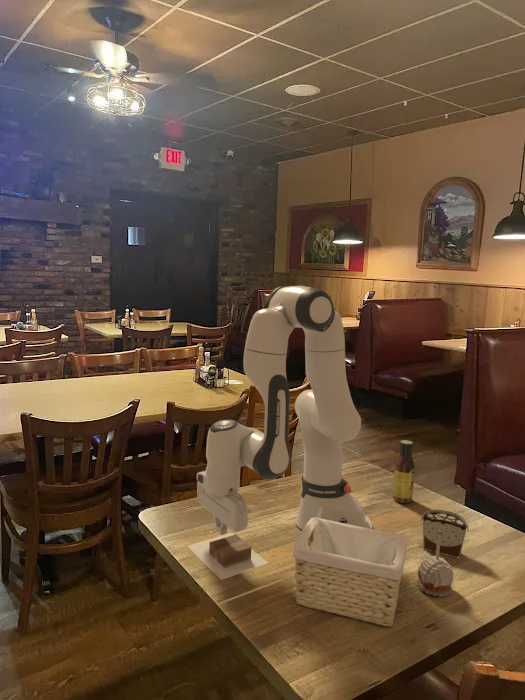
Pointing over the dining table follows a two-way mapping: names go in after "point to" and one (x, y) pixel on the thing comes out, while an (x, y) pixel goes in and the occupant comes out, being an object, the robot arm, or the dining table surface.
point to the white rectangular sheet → (203, 554)
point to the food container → (444, 531)
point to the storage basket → (349, 570)
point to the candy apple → (435, 574)
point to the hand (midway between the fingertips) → (220, 532)
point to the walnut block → (230, 551)
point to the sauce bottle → (404, 473)
